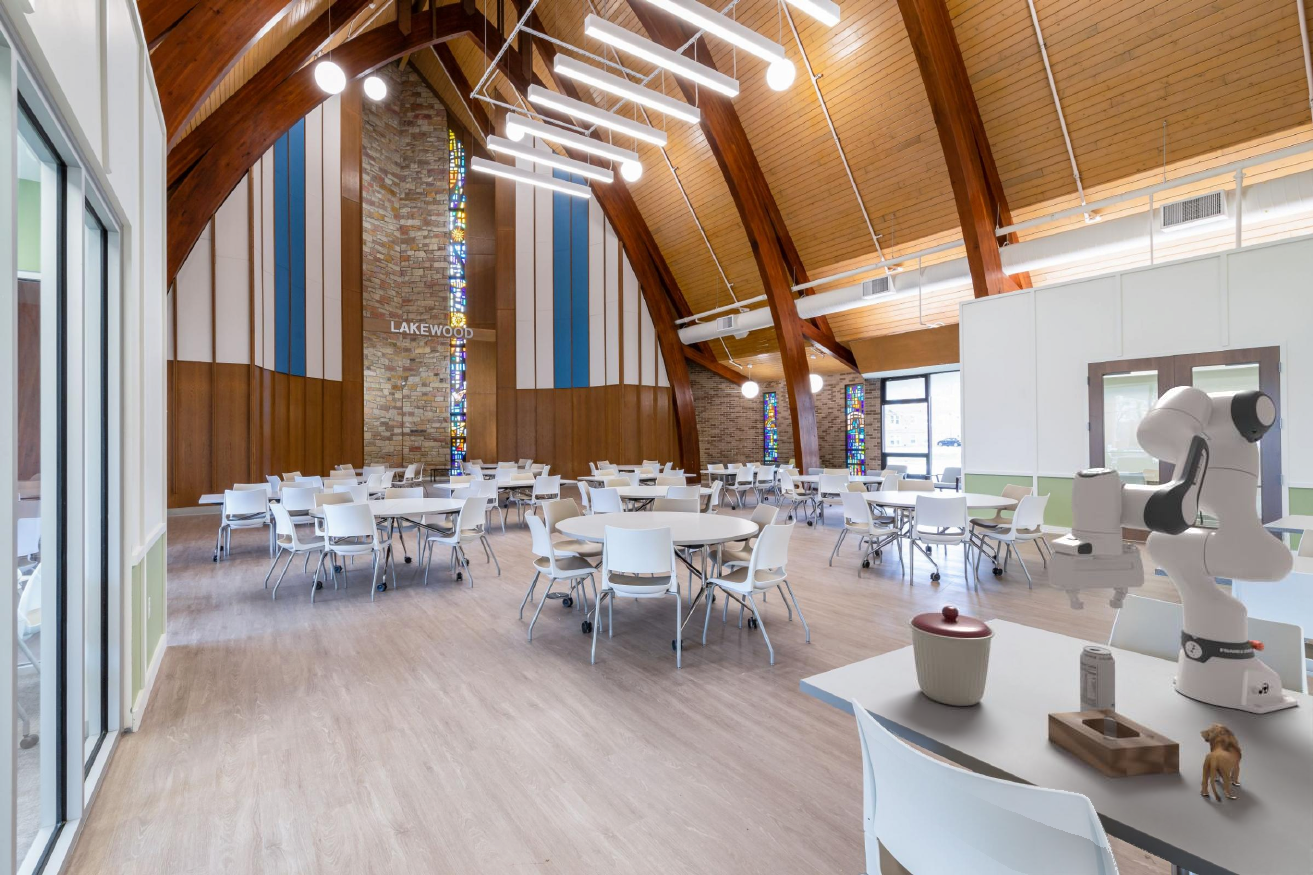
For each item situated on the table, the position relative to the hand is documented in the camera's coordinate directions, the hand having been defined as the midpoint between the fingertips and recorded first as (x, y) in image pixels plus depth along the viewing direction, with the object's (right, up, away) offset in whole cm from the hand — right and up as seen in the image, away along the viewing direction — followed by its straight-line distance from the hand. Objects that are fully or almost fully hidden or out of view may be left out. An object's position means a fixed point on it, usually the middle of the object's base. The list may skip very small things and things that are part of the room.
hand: (1096, 608), depth 128 cm
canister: (-26, -24, +11) cm, 37 cm away
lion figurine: (+3, -24, -25) cm, 35 cm away
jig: (-8, -24, -15) cm, 29 cm away
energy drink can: (0, -24, 0) cm, 24 cm away
